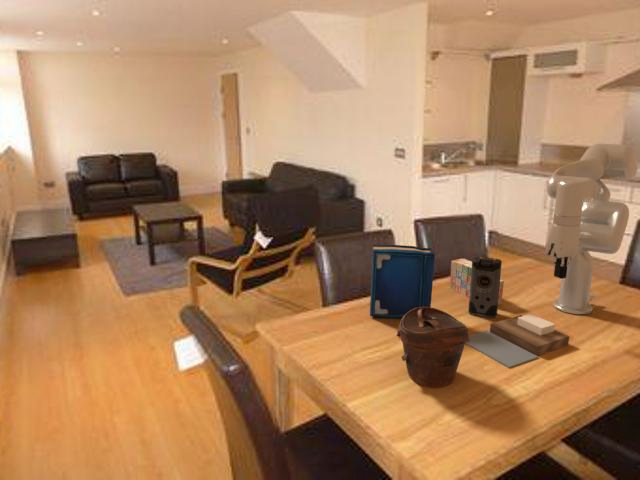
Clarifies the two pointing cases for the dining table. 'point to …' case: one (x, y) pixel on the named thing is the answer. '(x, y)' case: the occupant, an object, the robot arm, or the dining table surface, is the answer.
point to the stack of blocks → (465, 278)
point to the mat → (499, 349)
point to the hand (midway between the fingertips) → (559, 277)
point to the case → (432, 345)
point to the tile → (536, 324)
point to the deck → (528, 337)
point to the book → (400, 279)
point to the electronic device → (484, 286)
